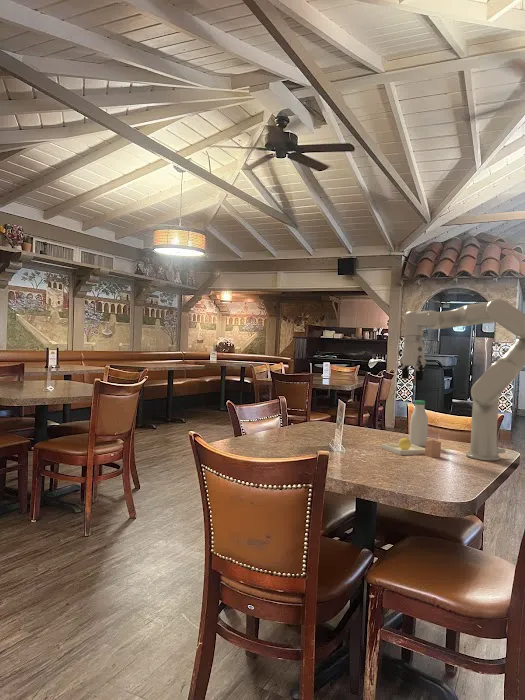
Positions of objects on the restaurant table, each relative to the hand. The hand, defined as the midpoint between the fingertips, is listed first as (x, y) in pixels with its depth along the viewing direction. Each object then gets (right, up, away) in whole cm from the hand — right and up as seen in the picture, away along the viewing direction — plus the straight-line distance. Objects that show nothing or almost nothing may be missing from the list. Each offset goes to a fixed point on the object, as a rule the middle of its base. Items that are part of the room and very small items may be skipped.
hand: (411, 379), depth 221 cm
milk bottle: (+5, -30, +9) cm, 32 cm away
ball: (-5, -29, -7) cm, 30 cm away
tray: (-5, -30, -7) cm, 31 cm away
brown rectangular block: (+4, -30, -15) cm, 34 cm away
